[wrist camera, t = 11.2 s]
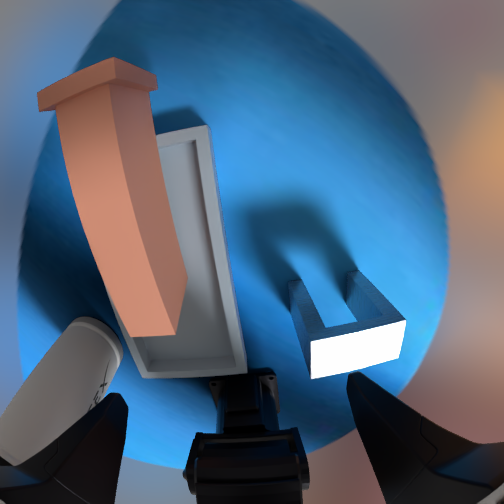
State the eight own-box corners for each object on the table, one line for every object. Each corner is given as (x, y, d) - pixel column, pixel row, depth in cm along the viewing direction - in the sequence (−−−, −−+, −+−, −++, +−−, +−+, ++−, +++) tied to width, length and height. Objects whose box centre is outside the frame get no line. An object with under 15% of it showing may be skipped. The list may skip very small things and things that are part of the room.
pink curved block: (195, 277, 20) (184, 341, 14) (144, 282, 20) (119, 344, 14) (155, 75, 13) (113, 56, 8) (97, 94, 13) (36, 92, 8)
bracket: (357, 301, 22) (398, 357, 15) (290, 313, 22) (310, 379, 15) (358, 270, 21) (406, 320, 14) (288, 281, 21) (310, 341, 14)
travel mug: (63, 341, 23) (-26, 483, 4) (81, 303, 21) (-41, 472, 2) (109, 375, 24) (47, 532, 5) (134, 343, 23) (57, 540, 4)
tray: (246, 356, 24) (247, 373, 22) (148, 363, 24) (142, 378, 22) (210, 128, 17) (206, 124, 15) (90, 157, 17) (75, 158, 15)
